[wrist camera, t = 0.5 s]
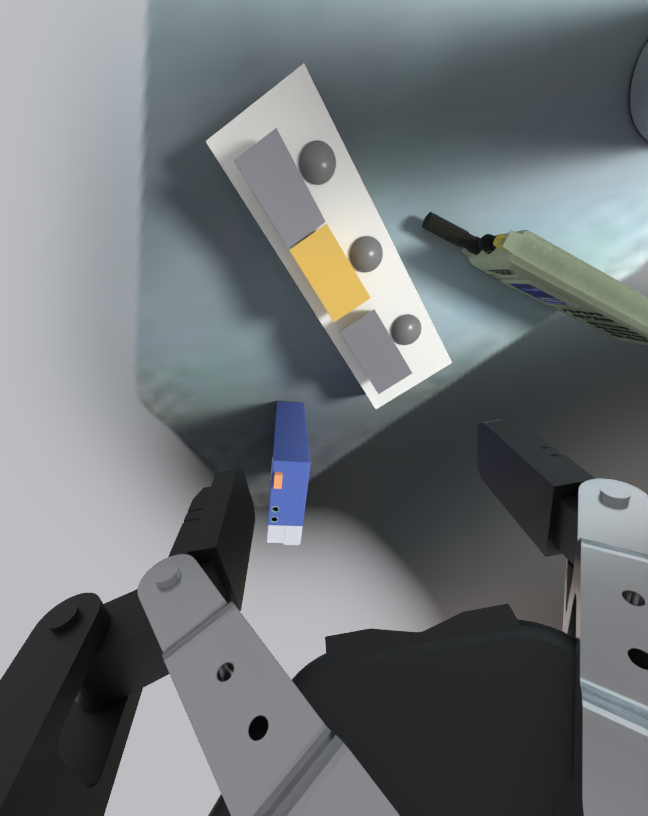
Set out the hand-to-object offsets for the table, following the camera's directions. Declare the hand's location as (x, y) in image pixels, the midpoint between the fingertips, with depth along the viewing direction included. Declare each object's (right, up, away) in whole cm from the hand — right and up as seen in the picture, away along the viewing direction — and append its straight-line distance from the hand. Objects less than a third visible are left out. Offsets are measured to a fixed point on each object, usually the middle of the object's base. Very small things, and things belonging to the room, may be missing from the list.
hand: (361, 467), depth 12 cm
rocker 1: (-1, +12, +16) cm, 20 cm away
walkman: (-5, -1, +26) cm, 26 cm away
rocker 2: (+3, +7, +19) cm, 20 cm away
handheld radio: (+19, +14, +22) cm, 32 cm away
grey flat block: (-4, +18, +13) cm, 23 cm away
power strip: (0, +15, +19) cm, 24 cm away
